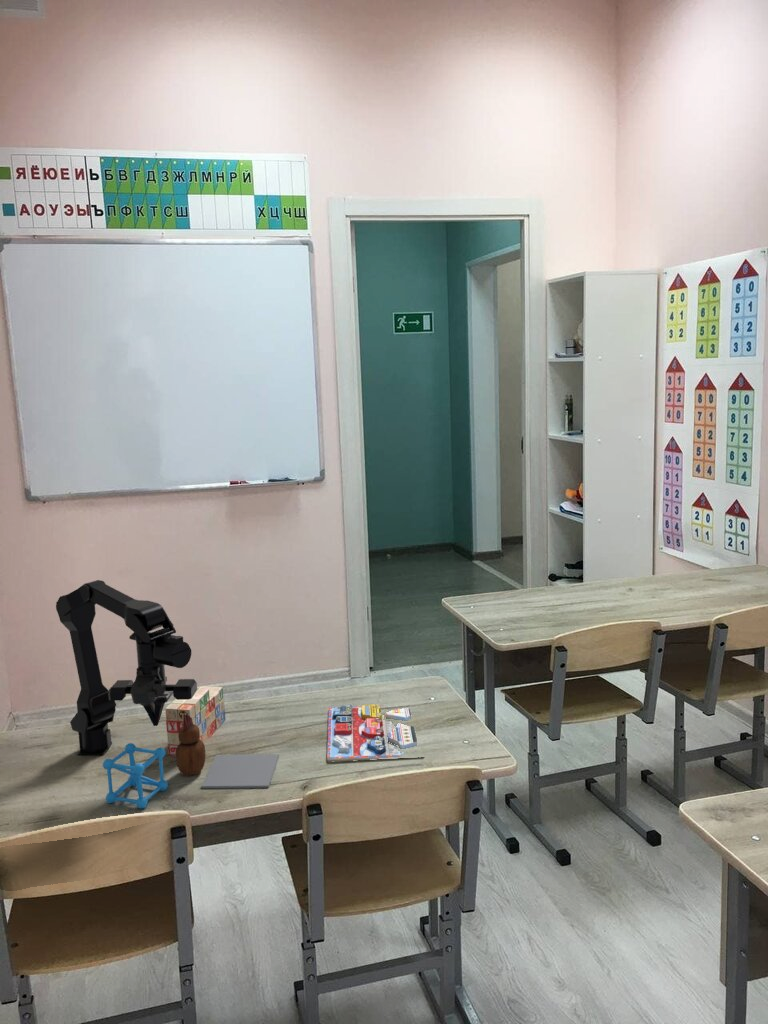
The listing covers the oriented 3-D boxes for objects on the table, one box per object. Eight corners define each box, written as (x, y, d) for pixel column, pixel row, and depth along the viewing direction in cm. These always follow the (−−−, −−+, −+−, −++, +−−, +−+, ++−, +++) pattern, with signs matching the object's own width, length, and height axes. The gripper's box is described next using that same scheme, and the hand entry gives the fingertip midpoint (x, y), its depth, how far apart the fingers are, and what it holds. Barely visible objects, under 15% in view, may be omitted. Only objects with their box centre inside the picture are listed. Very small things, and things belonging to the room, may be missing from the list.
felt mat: (201, 788, 184) (201, 786, 184) (216, 756, 199) (216, 754, 199) (268, 787, 184) (268, 785, 184) (279, 756, 198) (278, 754, 198)
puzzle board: (425, 760, 196) (424, 750, 195) (327, 765, 195) (326, 754, 194) (413, 708, 226) (413, 698, 225) (328, 712, 225) (328, 702, 224)
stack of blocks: (203, 718, 221) (200, 674, 219) (225, 720, 220) (223, 675, 218) (168, 756, 200) (164, 707, 198) (192, 757, 199) (189, 709, 197)
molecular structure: (103, 804, 179) (99, 760, 177) (132, 782, 188) (128, 740, 186) (143, 811, 175) (139, 767, 174) (170, 788, 185) (167, 746, 183)
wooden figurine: (190, 781, 187) (185, 718, 185) (172, 775, 190) (167, 713, 188) (211, 768, 193) (207, 707, 190) (193, 763, 196) (189, 703, 193)
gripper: (96, 673, 180) (102, 741, 182) (182, 672, 179) (187, 740, 182) (114, 655, 190) (120, 720, 193) (195, 654, 190) (200, 719, 193)
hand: (156, 725), depth 190 cm, fingers closed
